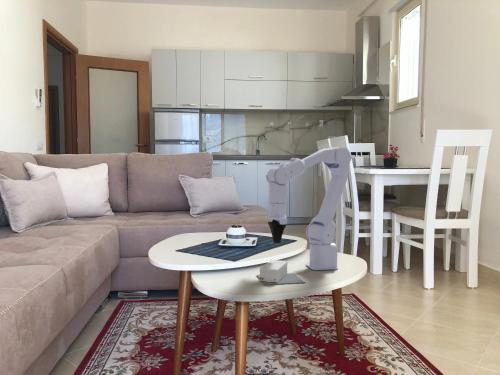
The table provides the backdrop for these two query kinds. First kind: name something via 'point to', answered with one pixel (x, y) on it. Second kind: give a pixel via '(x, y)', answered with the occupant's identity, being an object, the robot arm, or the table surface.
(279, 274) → the skincare box
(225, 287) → the table surface
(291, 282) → the mat
